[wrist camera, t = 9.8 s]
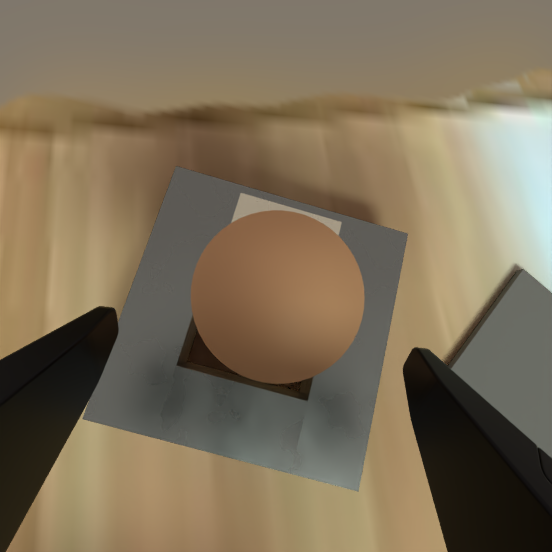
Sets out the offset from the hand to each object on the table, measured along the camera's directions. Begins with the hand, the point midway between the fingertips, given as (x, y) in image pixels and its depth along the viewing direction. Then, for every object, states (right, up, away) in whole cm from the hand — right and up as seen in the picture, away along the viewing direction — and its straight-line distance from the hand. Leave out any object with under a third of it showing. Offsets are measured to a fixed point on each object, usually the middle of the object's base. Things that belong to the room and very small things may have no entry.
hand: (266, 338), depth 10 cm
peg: (-1, -1, +10) cm, 11 cm away
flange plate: (-1, -1, +10) cm, 10 cm away
